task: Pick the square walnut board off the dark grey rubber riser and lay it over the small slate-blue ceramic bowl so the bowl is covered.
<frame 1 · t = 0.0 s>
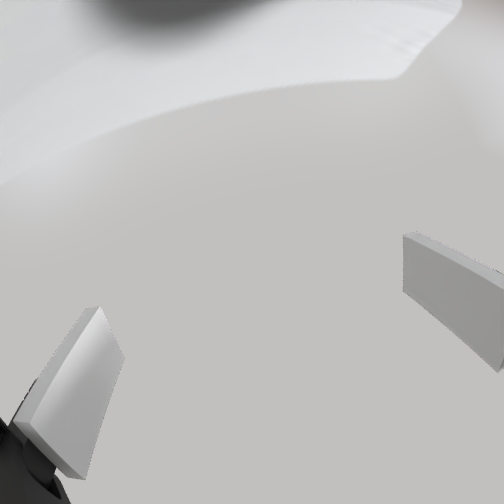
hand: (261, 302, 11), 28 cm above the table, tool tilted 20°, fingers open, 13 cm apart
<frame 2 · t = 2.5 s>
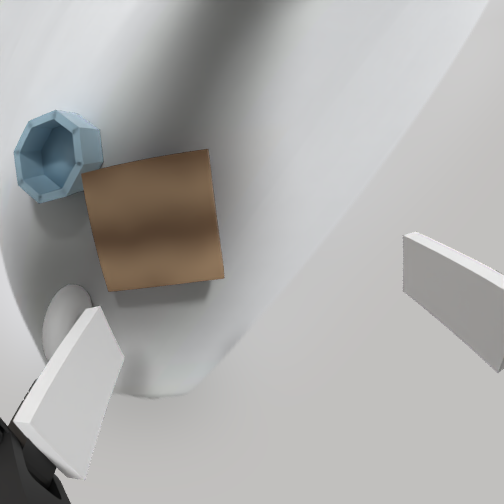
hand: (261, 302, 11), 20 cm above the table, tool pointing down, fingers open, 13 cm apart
board: (156, 219, 26), point 4 cm above the table, touching riser
bowl: (68, 154, 26), on the table
donut: (84, 304, 32), on the table
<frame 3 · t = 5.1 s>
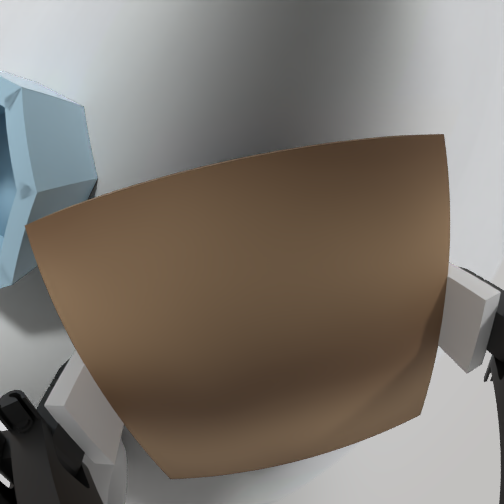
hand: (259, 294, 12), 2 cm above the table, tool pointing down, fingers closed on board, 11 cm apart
board: (268, 324, 10), point 4 cm above the table, touching gripper, riser
bowl: (22, 172, 11), on the table
donut: (108, 433, 17), on the table
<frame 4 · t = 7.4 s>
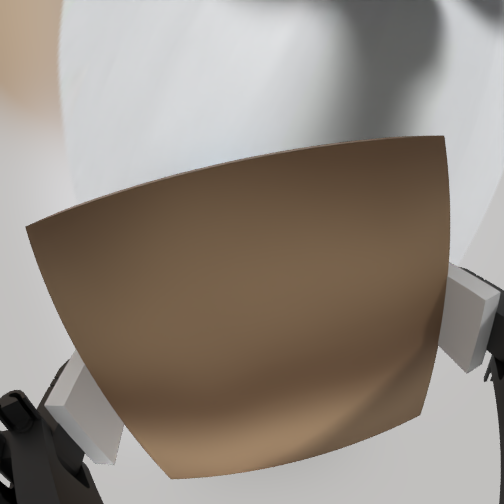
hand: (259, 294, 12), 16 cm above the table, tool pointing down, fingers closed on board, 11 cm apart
board: (268, 325, 10), point 18 cm above the table, touching gripper
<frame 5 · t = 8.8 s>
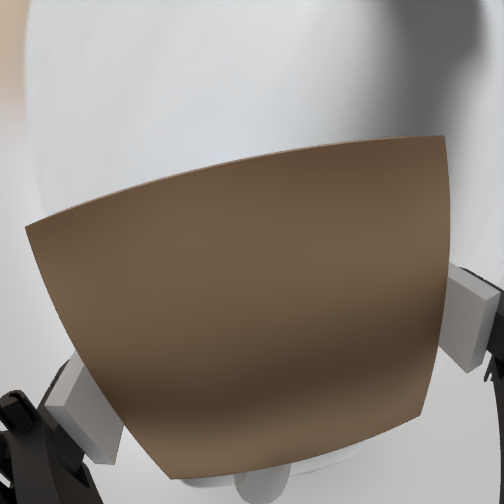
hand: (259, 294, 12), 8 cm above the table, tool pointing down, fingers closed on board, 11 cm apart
board: (268, 325, 10), point 11 cm above the table, touching gripper
donut: (252, 415, 26), on the table
when the fingers open (5 cm above the table, at t = 10.0 s): board drops 3 cm, resting on bowl.
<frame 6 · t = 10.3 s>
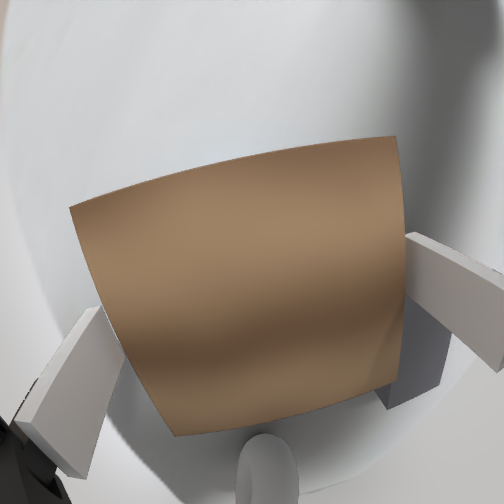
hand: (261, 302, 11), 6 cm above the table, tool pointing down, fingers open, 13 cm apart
board: (259, 292, 12), point 5 cm above the table, touching bowl
riser: (396, 321, 20), on the table
donut: (255, 441, 23), on the table
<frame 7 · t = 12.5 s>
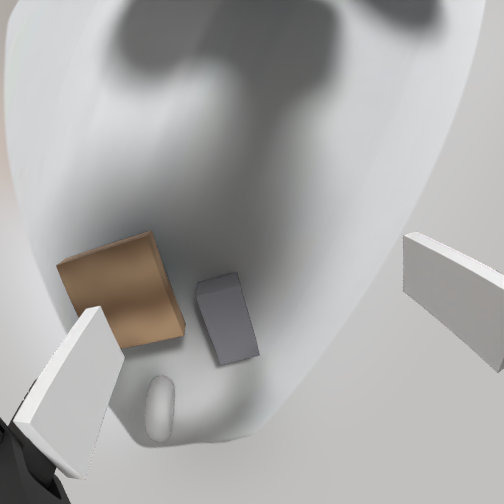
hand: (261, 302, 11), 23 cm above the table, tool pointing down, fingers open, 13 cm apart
board: (123, 292, 30), point 5 cm above the table, touching bowl
riser: (227, 312, 37), on the table
donut: (164, 385, 40), on the table
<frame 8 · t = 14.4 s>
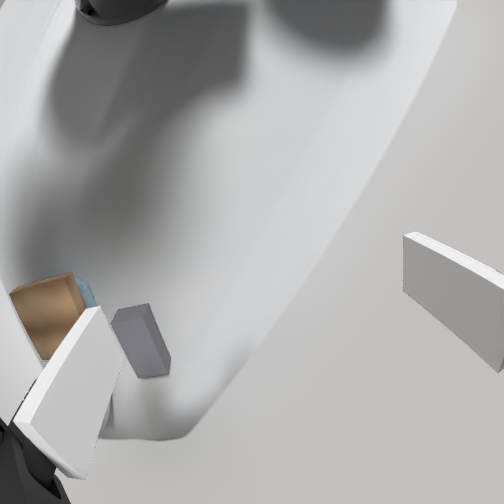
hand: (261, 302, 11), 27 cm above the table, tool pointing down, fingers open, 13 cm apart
board: (58, 315, 33), point 5 cm above the table, touching bowl
riser: (145, 334, 41), on the table
bowl: (71, 300, 38), on the table
donut: (103, 388, 44), on the table
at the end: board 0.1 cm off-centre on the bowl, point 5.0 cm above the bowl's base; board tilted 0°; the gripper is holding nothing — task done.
